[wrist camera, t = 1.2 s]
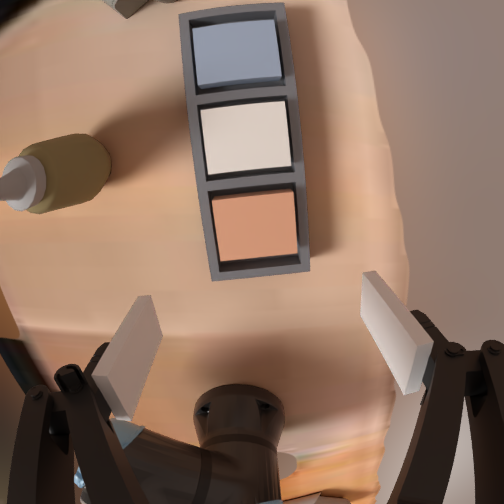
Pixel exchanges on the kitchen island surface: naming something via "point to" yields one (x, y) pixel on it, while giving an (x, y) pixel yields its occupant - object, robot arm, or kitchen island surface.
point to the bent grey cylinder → (317, 500)
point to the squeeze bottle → (55, 174)
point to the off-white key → (246, 137)
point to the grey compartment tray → (253, 178)
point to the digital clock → (129, 5)
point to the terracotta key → (255, 224)
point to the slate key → (236, 53)
